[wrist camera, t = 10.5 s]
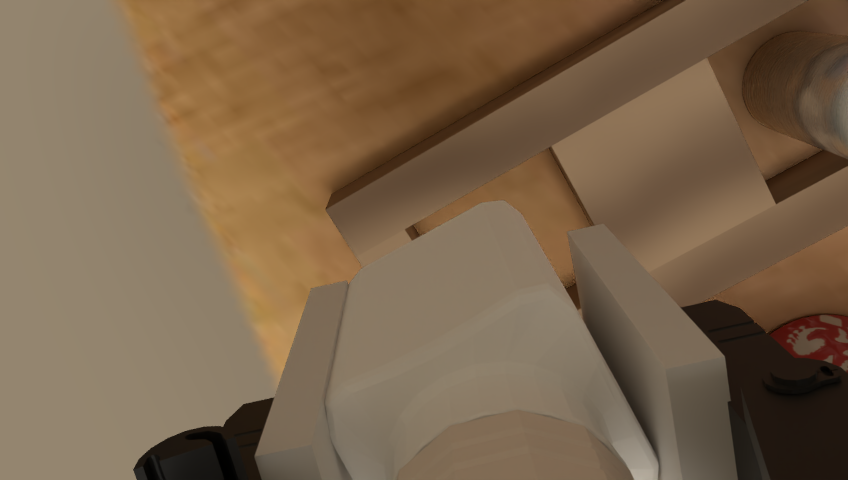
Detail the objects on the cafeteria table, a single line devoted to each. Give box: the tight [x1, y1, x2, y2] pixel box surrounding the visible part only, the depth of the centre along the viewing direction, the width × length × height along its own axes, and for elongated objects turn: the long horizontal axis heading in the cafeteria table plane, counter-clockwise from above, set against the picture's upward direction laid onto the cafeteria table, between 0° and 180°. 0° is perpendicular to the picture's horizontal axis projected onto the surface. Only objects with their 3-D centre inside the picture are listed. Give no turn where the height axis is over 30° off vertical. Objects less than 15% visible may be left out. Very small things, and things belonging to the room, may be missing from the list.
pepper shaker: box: [325, 200, 659, 480], centre depth 13 cm, size 4×4×10 cm
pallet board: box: [326, 0, 848, 320], centre depth 33 cm, size 11×24×2 cm, turn 120°
